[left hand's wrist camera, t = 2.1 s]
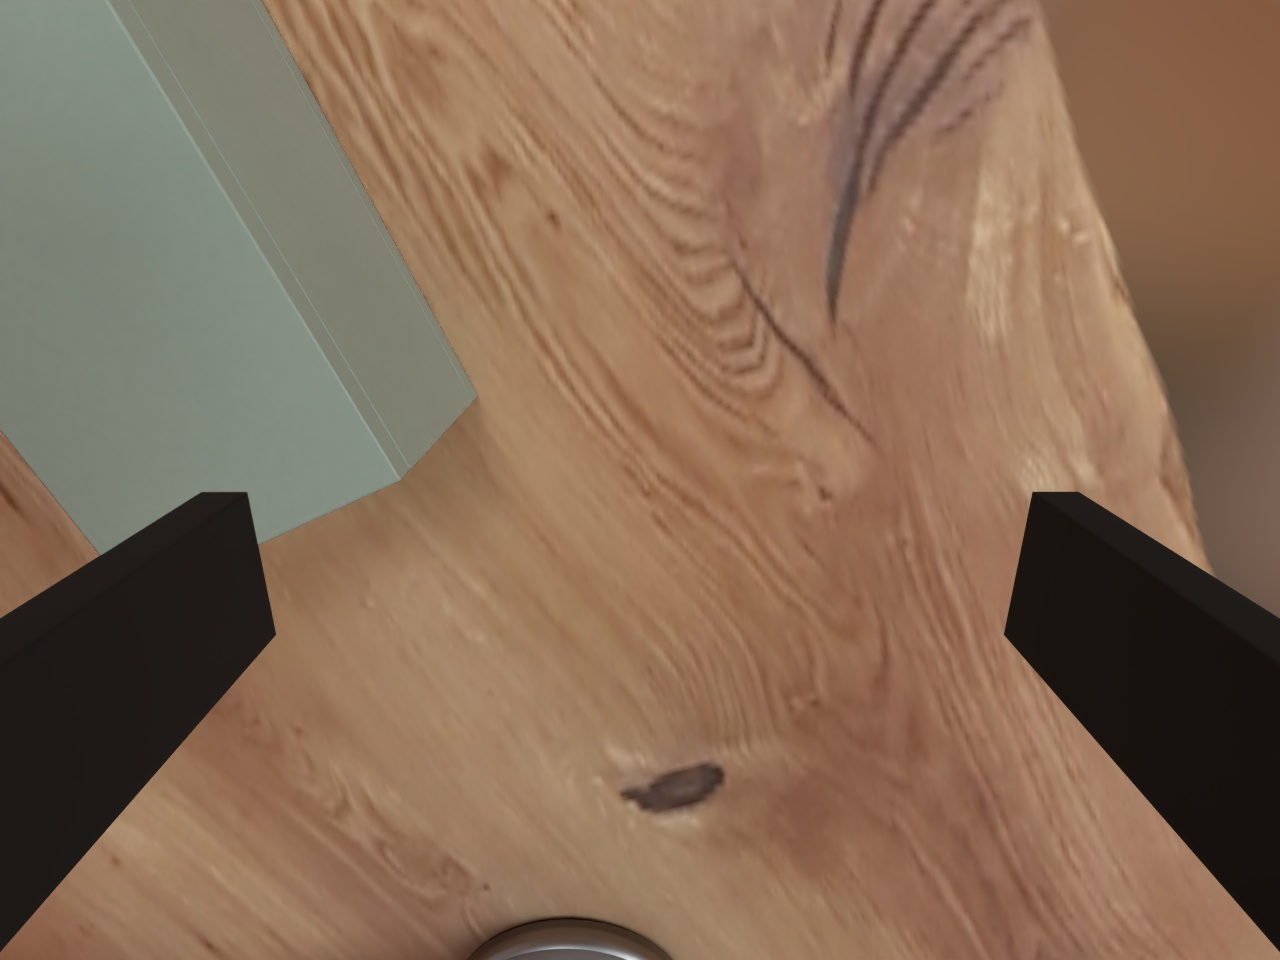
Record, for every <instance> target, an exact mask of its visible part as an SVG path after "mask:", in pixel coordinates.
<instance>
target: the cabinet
mask: <svg viewBox="0 0 1280 960" xmlns="http://www.w3.org/2000/svg"><path fill="white" fill-rule="evenodd" d="M476 397H477V393H476V391H475V390H474V388H473V386H472V384H471V382H470V381H469V379H468V377H467V375H466V373H465V371H464V370H463V368H462V366H461V364H460V362H459V360H458V359H457V357H456V355H455V353H454V351H453V350H452V348H451V346H450V344H449V342H448V340H447V339H446V337H445V335H444V333H443V331H442V329H441V328H440V326H439V324H438V322H437V320H436V318H435V317H434V315H433V313H432V311H431V309H430V308H429V306H428V304H427V302H426V300H425V298H424V297H423V295H422V293H421V291H420V289H419V287H418V286H417V284H416V282H415V280H414V278H413V276H412V275H411V273H410V271H409V269H408V267H407V266H406V264H405V262H404V260H403V258H402V256H401V255H400V253H399V251H398V249H397V247H396V245H395V244H394V242H393V240H392V238H391V236H390V235H389V233H388V231H387V229H386V227H385V225H384V224H383V222H382V220H381V218H380V216H379V214H378V213H377V211H376V209H375V207H374V205H373V203H372V202H371V200H370V198H369V196H368V194H367V193H366V191H365V189H364V187H363V185H362V183H361V182H360V180H359V178H358V176H357V174H356V172H355V171H354V169H353V167H352V165H351V163H350V161H349V160H348V158H347V156H346V154H345V152H344V151H343V149H342V147H341V145H340V143H339V141H338V140H337V138H336V136H335V134H334V132H333V130H332V129H331V127H330V125H329V123H328V121H327V120H326V118H325V116H324V114H323V112H322V110H321V109H320V107H319V105H318V103H317V101H316V99H315V98H314V96H313V94H312V92H311V90H310V88H309V87H308V85H307V83H306V81H305V79H304V78H303V76H302V74H301V72H300V70H299V68H298V67H297V65H296V63H295V61H294V59H293V57H292V56H291V54H290V52H289V50H288V48H287V46H286V45H285V43H284V41H283V39H282V37H281V36H280V34H279V32H278V30H277V28H276V26H275V25H274V23H273V21H272V19H271V17H270V15H269V14H268V12H267V10H266V8H265V6H264V5H263V3H262V1H261V0H0V430H1V431H2V433H3V434H4V435H5V436H6V438H7V439H8V440H9V442H10V443H11V444H12V445H13V447H14V448H15V449H16V450H17V452H18V453H19V454H20V455H21V457H22V458H23V459H24V460H25V462H26V463H27V464H28V465H29V467H30V468H31V469H32V471H33V472H34V473H35V474H36V476H37V477H38V478H39V479H40V481H41V482H42V483H43V484H44V486H45V487H46V488H47V489H48V491H49V492H50V493H51V494H52V496H53V497H54V498H55V500H56V501H57V502H58V503H59V505H60V506H61V507H62V508H63V510H64V511H65V512H66V513H67V515H68V516H69V517H70V518H71V520H72V521H73V522H74V523H75V525H76V526H77V527H78V529H79V530H80V531H81V532H82V534H83V535H84V536H85V537H86V539H87V540H88V541H89V542H90V544H91V545H92V546H93V547H94V549H95V550H96V551H97V552H98V554H99V555H102V554H104V553H105V552H107V551H108V550H110V549H112V548H113V547H115V546H116V545H118V544H120V543H121V542H123V541H124V540H126V539H127V538H129V537H131V536H132V535H134V534H135V533H137V532H139V531H140V530H142V529H143V528H145V527H147V526H148V525H150V524H151V523H153V522H154V521H156V520H158V519H159V518H161V517H162V516H164V515H166V514H167V513H169V512H170V511H172V510H174V509H175V508H177V507H178V506H180V505H181V504H183V503H185V502H186V501H188V500H189V499H191V498H193V497H194V496H196V495H197V494H199V493H201V492H247V493H248V498H249V503H250V508H251V513H252V518H253V523H254V528H255V533H256V538H257V542H258V545H260V544H262V543H264V542H267V541H269V540H271V539H273V538H275V537H278V536H280V535H282V534H284V533H286V532H288V531H291V530H293V529H295V528H297V527H299V526H302V525H304V524H306V523H308V522H310V521H313V520H315V519H317V518H319V517H321V516H324V515H326V514H328V513H330V512H332V511H335V510H337V509H339V508H341V507H343V506H346V505H348V504H350V503H352V502H354V501H357V500H359V499H361V498H363V497H365V496H368V495H370V494H372V493H374V492H376V491H379V490H381V489H383V488H385V487H387V486H390V485H392V484H394V483H396V482H398V481H400V480H401V479H402V478H403V477H404V476H405V474H406V473H407V472H408V471H409V470H411V468H412V467H413V466H414V465H415V464H416V463H417V462H418V461H419V460H420V459H421V457H422V456H423V455H424V454H425V453H426V452H427V451H428V450H429V449H430V448H431V446H432V445H433V444H434V443H435V442H436V441H437V440H438V439H439V438H440V437H441V436H442V434H443V433H444V432H445V431H446V430H447V429H448V428H449V427H450V426H451V425H452V423H453V422H454V421H455V420H456V419H457V418H458V417H459V416H460V415H461V414H462V412H463V411H464V410H465V409H466V408H467V407H468V406H469V405H470V404H471V403H472V401H473V400H474V399H475V398H476Z"/></svg>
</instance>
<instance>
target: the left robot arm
mask: <svg viewBox="0 0 1280 960" xmlns="http://www.w3.org/2000/svg"><path fill="white" fill-rule="evenodd" d="M275 635H276V632H275V627H274V622H273V617H272V612H271V607H270V602H269V597H268V592H267V587H266V582H265V577H264V572H263V567H262V562H261V557H260V552H259V547H258V542H257V538H256V533H255V528H254V523H253V518H252V513H251V508H250V503H249V498H248V493H247V492H201V493H199V494H197V495H196V496H194V497H193V498H191V499H189V500H188V501H186V502H185V503H183V504H181V505H180V506H178V507H177V508H175V509H174V510H172V511H170V512H169V513H167V514H166V515H164V516H162V517H161V518H159V519H158V520H156V521H154V522H153V523H151V524H150V525H148V526H147V527H145V528H143V529H142V530H140V531H139V532H137V533H135V534H134V535H132V536H131V537H129V538H127V539H126V540H124V541H123V542H121V543H120V544H118V545H116V546H115V547H113V548H112V549H110V550H108V551H107V552H105V553H104V554H102V555H100V556H99V557H97V558H96V559H94V560H92V561H91V562H89V563H88V564H86V565H85V566H83V567H81V568H80V569H78V570H77V571H75V572H73V573H72V574H70V575H69V576H67V577H65V578H64V579H62V580H61V581H59V582H58V583H56V584H54V585H53V586H51V587H50V588H48V589H46V590H45V591H43V592H42V593H40V594H38V595H37V596H35V597H34V598H32V599H31V600H29V601H27V602H26V603H24V604H23V605H21V606H19V607H18V608H16V609H15V610H13V611H11V612H10V613H8V614H7V615H5V616H4V617H2V618H0V952H1V950H2V949H3V948H4V947H5V946H6V945H7V943H8V942H9V941H10V940H11V939H12V938H13V937H14V935H15V934H16V933H17V932H18V931H19V930H20V929H21V927H22V926H23V925H24V924H25V923H26V922H27V920H28V919H29V918H30V917H31V916H32V915H33V914H34V912H35V911H36V910H37V909H38V908H39V907H40V906H41V904H42V903H43V902H44V901H45V900H46V899H47V897H48V896H49V895H50V894H51V893H52V892H53V891H54V889H55V888H56V887H57V886H58V885H59V884H60V883H61V881H62V880H63V879H64V878H65V877H66V876H67V874H68V873H69V872H70V871H71V870H72V869H73V868H74V866H75V865H76V864H77V863H78V862H79V861H80V860H81V858H82V857H83V856H84V855H85V854H86V853H87V851H88V850H89V849H90V848H91V847H92V846H93V845H94V843H95V842H96V841H97V840H98V839H99V838H100V837H101V835H102V834H103V833H104V832H105V831H106V830H107V828H108V827H109V826H110V825H111V824H112V823H113V822H114V820H115V819H116V818H117V817H118V816H119V815H120V814H121V812H122V811H123V810H124V809H125V808H126V807H127V805H128V804H129V803H130V802H131V801H132V800H133V799H134V797H135V796H136V795H137V794H138V793H139V792H140V791H141V789H142V788H143V787H144V786H145V785H146V784H147V782H148V781H149V780H150V779H151V778H152V777H153V776H154V774H155V773H156V772H157V771H158V770H159V769H160V768H161V766H162V765H163V764H164V763H165V762H166V761H167V759H168V758H169V757H170V756H171V755H172V754H173V753H174V751H175V750H176V749H177V748H178V747H179V746H180V744H181V743H182V742H183V741H184V740H185V739H186V738H187V736H188V735H189V734H190V733H191V732H192V731H193V730H194V728H195V727H196V726H197V725H198V724H199V723H200V721H201V720H202V719H203V718H204V717H205V716H206V715H207V713H208V712H209V711H210V710H211V709H212V708H213V707H214V705H215V704H216V703H217V702H218V701H219V700H220V698H221V697H222V696H223V695H224V694H225V693H226V692H227V690H228V689H229V688H230V687H231V686H232V685H233V684H234V682H235V681H236V680H237V679H238V678H239V677H240V675H241V674H242V673H243V672H244V671H245V670H246V669H247V667H248V666H249V665H250V664H251V663H252V662H253V661H254V659H255V658H256V657H257V656H258V655H259V654H260V652H261V651H262V650H263V649H264V648H265V647H266V646H267V644H268V643H269V642H270V641H271V640H272V639H273V638H274V636H275ZM1004 635H1005V636H1006V638H1007V639H1008V640H1009V641H1010V642H1011V643H1012V644H1013V646H1014V647H1015V648H1016V649H1017V650H1018V651H1019V652H1020V654H1021V655H1022V656H1023V657H1024V658H1025V659H1026V661H1027V662H1028V663H1029V664H1030V665H1031V666H1032V667H1033V669H1034V670H1035V671H1036V672H1037V673H1038V674H1039V675H1040V677H1041V678H1042V679H1043V680H1044V681H1045V682H1046V684H1047V685H1048V686H1049V687H1050V688H1051V689H1052V690H1053V692H1054V693H1055V694H1056V695H1057V696H1058V697H1059V698H1060V700H1061V701H1062V702H1063V703H1064V704H1065V705H1066V707H1067V708H1068V709H1069V710H1070V711H1071V712H1072V713H1073V715H1074V716H1075V717H1076V718H1077V719H1078V720H1079V721H1080V723H1081V724H1082V725H1083V726H1084V727H1085V728H1086V730H1087V731H1088V732H1089V733H1090V734H1091V735H1092V736H1093V738H1094V739H1095V740H1096V741H1097V742H1098V743H1099V744H1100V746H1101V747H1102V748H1103V749H1104V750H1105V751H1106V753H1107V754H1108V755H1109V756H1110V757H1111V758H1112V759H1113V761H1114V762H1115V763H1116V764H1117V765H1118V766H1119V768H1120V769H1121V770H1122V771H1123V772H1124V773H1125V774H1126V776H1127V777H1128V778H1129V779H1130V780H1131V781H1132V782H1133V784H1134V785H1135V786H1136V787H1137V788H1138V789H1139V791H1140V792H1141V793H1142V794H1143V795H1144V796H1145V797H1146V799H1147V800H1148V801H1149V802H1150V803H1151V804H1152V805H1153V807H1154V808H1155V809H1156V810H1157V811H1158V812H1159V814H1160V815H1161V816H1162V817H1163V818H1164V819H1165V820H1166V822H1167V823H1168V824H1169V825H1170V826H1171V827H1172V828H1173V830H1174V831H1175V832H1176V833H1177V834H1178V835H1179V837H1180V838H1181V839H1182V840H1183V841H1184V842H1185V843H1186V845H1187V846H1188V847H1189V848H1190V849H1191V850H1192V851H1193V853H1194V854H1195V855H1196V856H1197V857H1198V858H1199V860H1200V861H1201V862H1202V863H1203V864H1204V865H1205V866H1206V868H1207V869H1208V870H1209V871H1210V872H1211V873H1212V874H1213V876H1214V877H1215V878H1216V879H1217V880H1218V881H1219V883H1220V884H1221V885H1222V886H1223V887H1224V888H1225V889H1226V891H1227V892H1228V893H1229V894H1230V895H1231V896H1232V897H1233V899H1234V900H1235V901H1236V902H1237V903H1238V904H1239V906H1240V907H1241V908H1242V909H1243V910H1244V911H1245V912H1246V914H1247V915H1248V916H1249V917H1250V918H1251V919H1252V920H1253V922H1254V923H1255V924H1256V925H1257V926H1258V927H1259V929H1260V930H1261V931H1262V932H1263V933H1264V934H1265V935H1266V937H1267V938H1268V939H1269V940H1270V941H1271V942H1272V944H1273V945H1274V946H1275V947H1276V948H1277V949H1278V950H1279V952H1280V618H1278V617H1276V616H1275V615H1273V614H1272V613H1270V612H1269V611H1267V610H1265V609H1264V608H1262V607H1261V606H1259V605H1257V604H1256V603H1254V602H1253V601H1251V600H1249V599H1248V598H1246V597H1245V596H1243V595H1242V594H1240V593H1238V592H1237V591H1235V590H1233V589H1232V588H1230V587H1229V586H1227V585H1226V584H1224V583H1222V582H1221V581H1219V580H1218V579H1216V578H1215V577H1213V576H1211V575H1210V574H1208V573H1207V572H1205V571H1203V570H1202V569H1200V568H1199V567H1197V566H1195V565H1194V564H1192V563H1191V562H1189V561H1188V560H1186V559H1184V558H1183V557H1181V556H1180V555H1178V554H1176V553H1175V552H1173V551H1172V550H1170V549H1168V548H1167V547H1165V546H1164V545H1162V544H1160V543H1159V542H1157V541H1156V540H1154V539H1153V538H1151V537H1149V536H1148V535H1146V534H1145V533H1143V532H1141V531H1140V530H1138V529H1137V528H1135V527H1133V526H1132V525H1130V524H1129V523H1127V522H1126V521H1124V520H1122V519H1121V518H1119V517H1118V516H1116V515H1114V514H1113V513H1111V512H1110V511H1108V510H1106V509H1105V508H1103V507H1102V506H1100V505H1099V504H1097V503H1095V502H1094V501H1092V500H1091V499H1089V498H1087V497H1086V496H1084V495H1083V494H1081V493H1079V492H1033V493H1032V498H1031V503H1030V508H1029V513H1028V518H1027V523H1026V528H1025V533H1024V538H1023V542H1022V547H1021V552H1020V557H1019V562H1018V567H1017V572H1016V577H1015V582H1014V587H1013V592H1012V597H1011V602H1010V607H1009V612H1008V617H1007V622H1006V627H1005V632H1004ZM468 960H672V959H671V958H670V957H669V956H668V955H667V954H666V953H665V952H664V951H663V950H662V949H660V948H659V947H658V946H656V945H655V944H653V943H652V942H650V941H649V940H647V939H645V938H643V937H642V936H640V935H637V934H635V933H633V932H631V931H628V930H626V929H623V928H620V927H617V926H613V925H610V924H605V923H600V922H595V921H587V920H573V919H568V920H549V921H542V922H536V923H532V924H527V925H524V926H520V927H517V928H514V929H512V930H509V931H507V932H504V933H502V934H500V935H498V936H496V937H495V938H493V939H491V940H490V941H488V942H487V943H485V944H484V945H483V946H481V947H480V948H479V949H478V950H476V951H475V952H474V953H473V954H472V955H471V956H470V958H469V959H468Z"/></svg>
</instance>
